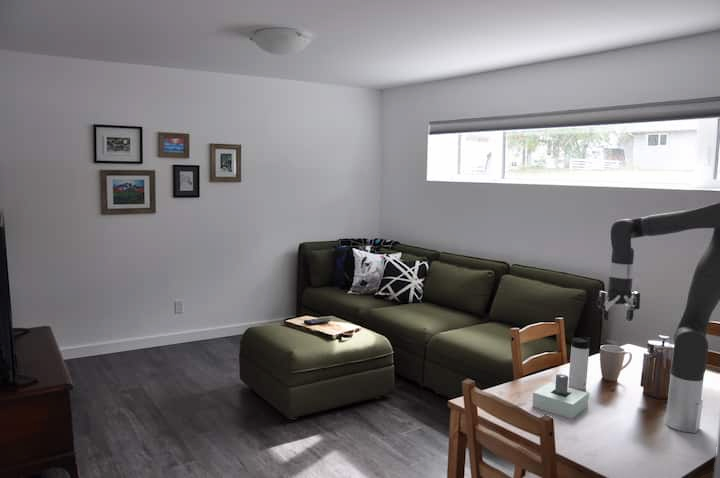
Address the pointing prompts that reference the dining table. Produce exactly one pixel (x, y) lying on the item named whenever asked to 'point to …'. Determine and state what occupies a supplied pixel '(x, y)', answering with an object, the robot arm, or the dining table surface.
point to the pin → (561, 385)
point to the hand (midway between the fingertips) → (617, 320)
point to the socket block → (560, 401)
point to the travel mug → (579, 363)
